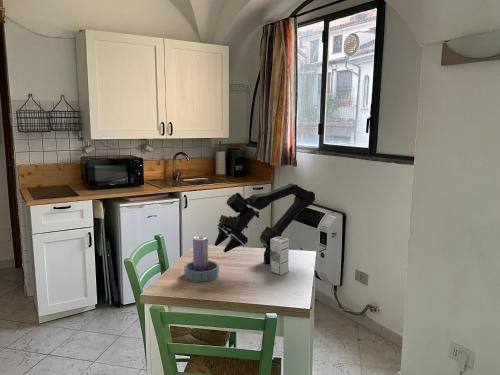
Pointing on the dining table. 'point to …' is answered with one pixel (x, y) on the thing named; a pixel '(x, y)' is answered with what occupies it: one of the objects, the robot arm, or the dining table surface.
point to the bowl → (201, 276)
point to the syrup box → (279, 255)
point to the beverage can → (200, 253)
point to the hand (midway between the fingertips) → (219, 248)
